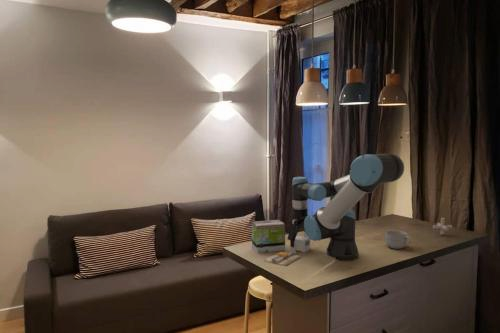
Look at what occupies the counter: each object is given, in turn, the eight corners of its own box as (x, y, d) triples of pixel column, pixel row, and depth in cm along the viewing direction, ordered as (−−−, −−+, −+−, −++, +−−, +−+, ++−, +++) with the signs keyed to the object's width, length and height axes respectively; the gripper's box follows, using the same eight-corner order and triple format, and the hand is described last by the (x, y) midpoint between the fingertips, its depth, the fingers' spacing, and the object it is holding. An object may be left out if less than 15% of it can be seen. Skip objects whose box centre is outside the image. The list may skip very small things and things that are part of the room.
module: (310, 251, 196) (310, 237, 195) (304, 254, 191) (304, 240, 190) (296, 248, 200) (296, 235, 200) (290, 251, 196) (290, 238, 195)
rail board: (301, 259, 185) (301, 253, 184) (286, 268, 173) (286, 262, 173) (280, 254, 192) (280, 249, 191) (264, 262, 180) (264, 257, 180)
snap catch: (288, 255, 182) (288, 253, 182) (284, 257, 180) (284, 255, 180) (281, 254, 185) (281, 251, 184) (277, 255, 182) (277, 253, 182)
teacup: (380, 245, 203) (380, 230, 202) (397, 243, 206) (397, 228, 206) (398, 253, 190) (399, 237, 189) (416, 250, 193) (417, 235, 193)
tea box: (257, 255, 191) (256, 225, 190) (251, 249, 201) (251, 221, 200) (285, 252, 195) (285, 223, 194) (279, 246, 205) (278, 218, 204)
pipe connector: (446, 232, 223) (447, 215, 222) (455, 237, 214) (456, 220, 212) (429, 233, 224) (429, 216, 223) (437, 238, 214) (437, 220, 213)
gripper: (305, 202, 205) (305, 241, 208) (280, 211, 186) (280, 254, 188) (318, 204, 201) (318, 244, 203) (293, 213, 181) (294, 257, 183)
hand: (300, 249), depth 196 cm, fingers open, 13 cm apart
